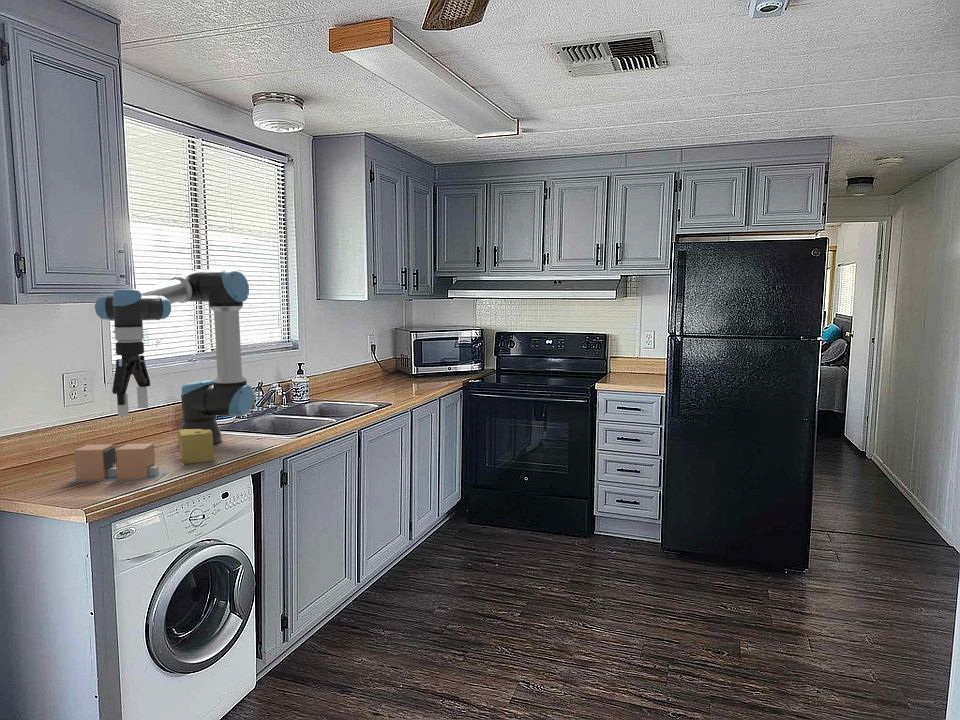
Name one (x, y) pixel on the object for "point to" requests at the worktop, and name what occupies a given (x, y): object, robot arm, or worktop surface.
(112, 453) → the block
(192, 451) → the cheese
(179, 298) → the robot arm
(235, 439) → the worktop surface
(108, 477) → the rail
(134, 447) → the block
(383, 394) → the worktop surface
